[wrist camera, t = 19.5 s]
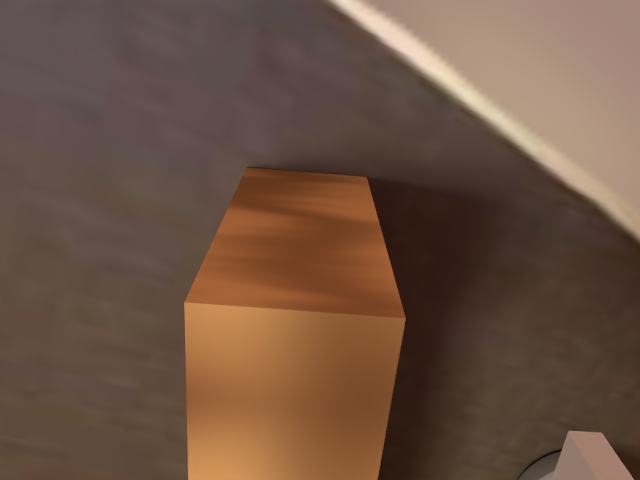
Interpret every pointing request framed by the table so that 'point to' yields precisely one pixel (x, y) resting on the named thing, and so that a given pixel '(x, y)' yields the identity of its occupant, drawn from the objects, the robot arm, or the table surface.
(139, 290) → the table surface
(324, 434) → the beige and orange block
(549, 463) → the travel mug
